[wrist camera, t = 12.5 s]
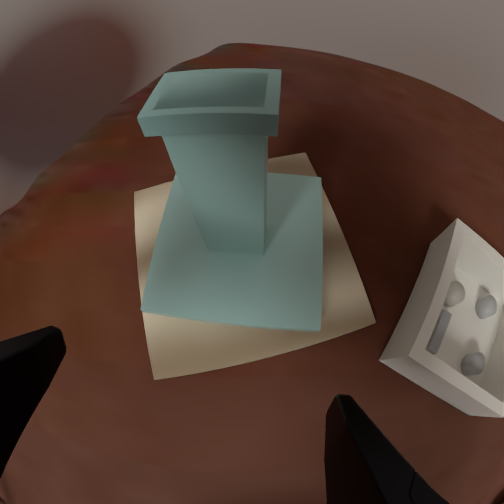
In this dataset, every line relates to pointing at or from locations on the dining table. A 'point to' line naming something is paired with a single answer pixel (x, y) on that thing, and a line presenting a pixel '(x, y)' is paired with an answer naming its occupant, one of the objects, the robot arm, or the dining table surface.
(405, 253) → the dining table surface
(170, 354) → the board
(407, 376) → the tub
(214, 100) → the lid
